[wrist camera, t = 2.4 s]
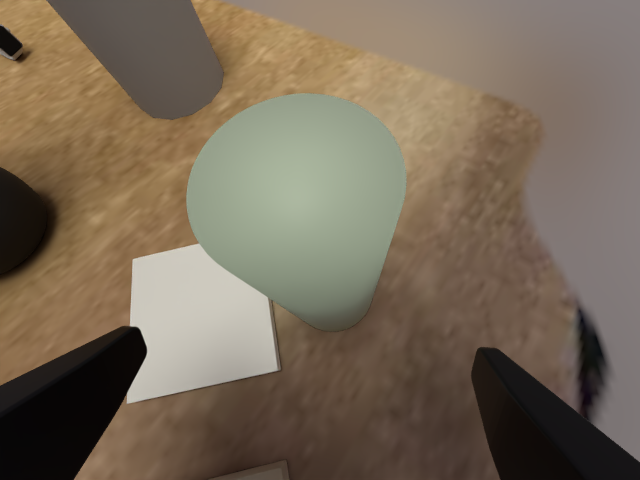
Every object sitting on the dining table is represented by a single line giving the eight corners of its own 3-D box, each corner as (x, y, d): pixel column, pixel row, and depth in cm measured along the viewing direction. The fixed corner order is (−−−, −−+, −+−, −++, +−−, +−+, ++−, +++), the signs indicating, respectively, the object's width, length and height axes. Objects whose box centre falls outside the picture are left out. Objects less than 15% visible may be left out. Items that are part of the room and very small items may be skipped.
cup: (189, 130, 25) (94, 0, 16) (119, 105, 27) (-1, -22, 18) (239, 62, 28) (182, -85, 18) (172, 44, 30) (89, -96, 20)
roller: (390, 296, 18) (457, 188, 6) (323, 349, 18) (258, 340, 6) (339, 236, 20) (316, 64, 8) (276, 282, 20) (152, 167, 8)
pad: (281, 369, 18) (277, 370, 17) (136, 401, 18) (126, 403, 17) (262, 234, 21) (258, 229, 20) (140, 262, 21) (132, 259, 20)
